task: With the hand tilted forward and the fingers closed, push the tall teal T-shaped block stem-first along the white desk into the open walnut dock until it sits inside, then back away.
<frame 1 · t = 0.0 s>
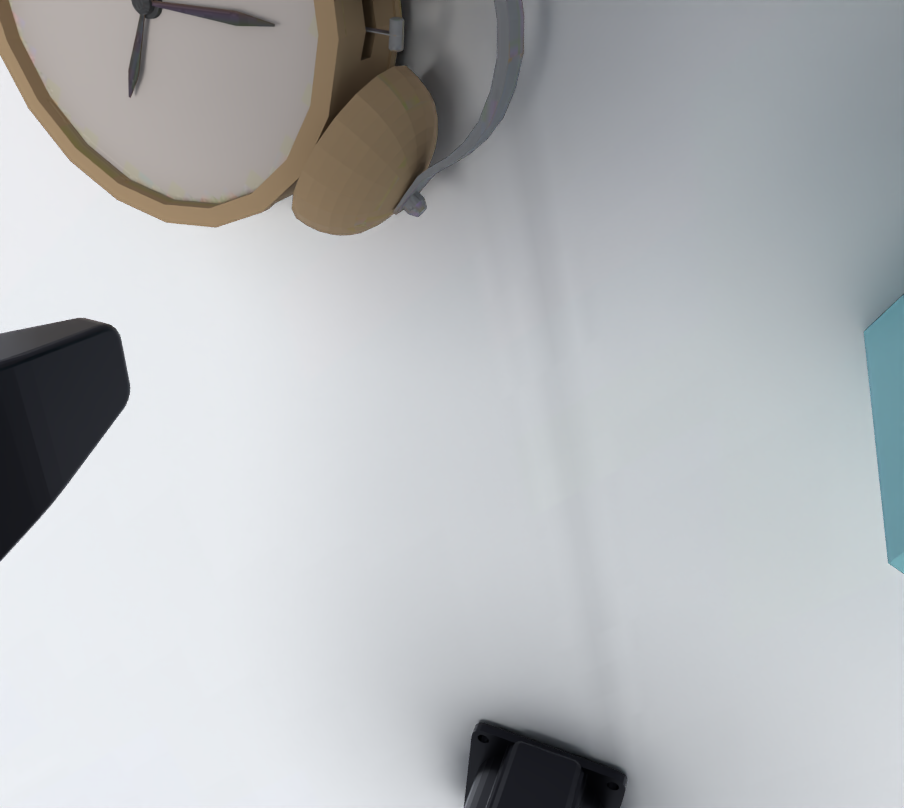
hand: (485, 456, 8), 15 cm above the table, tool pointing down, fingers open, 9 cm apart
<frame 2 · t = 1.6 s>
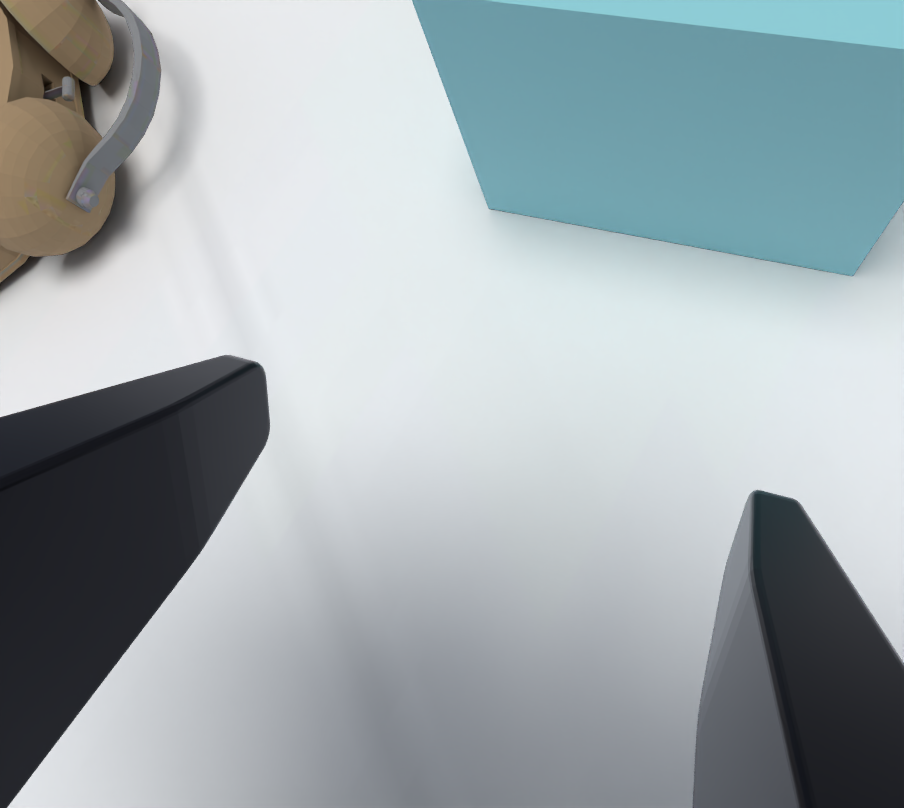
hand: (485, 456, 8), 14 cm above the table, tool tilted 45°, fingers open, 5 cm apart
alarm clock: (3, 162, 29), on the table
t block: (703, 80, 24), on the table
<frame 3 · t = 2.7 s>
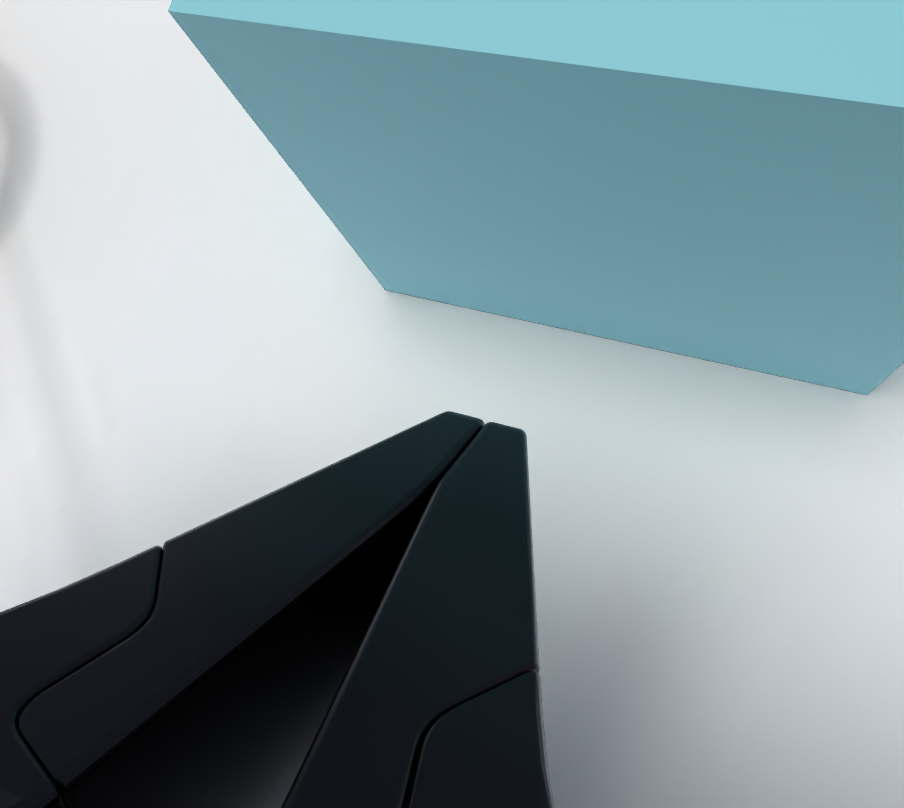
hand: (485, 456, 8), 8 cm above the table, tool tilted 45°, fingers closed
t block: (666, 123, 18), on the table
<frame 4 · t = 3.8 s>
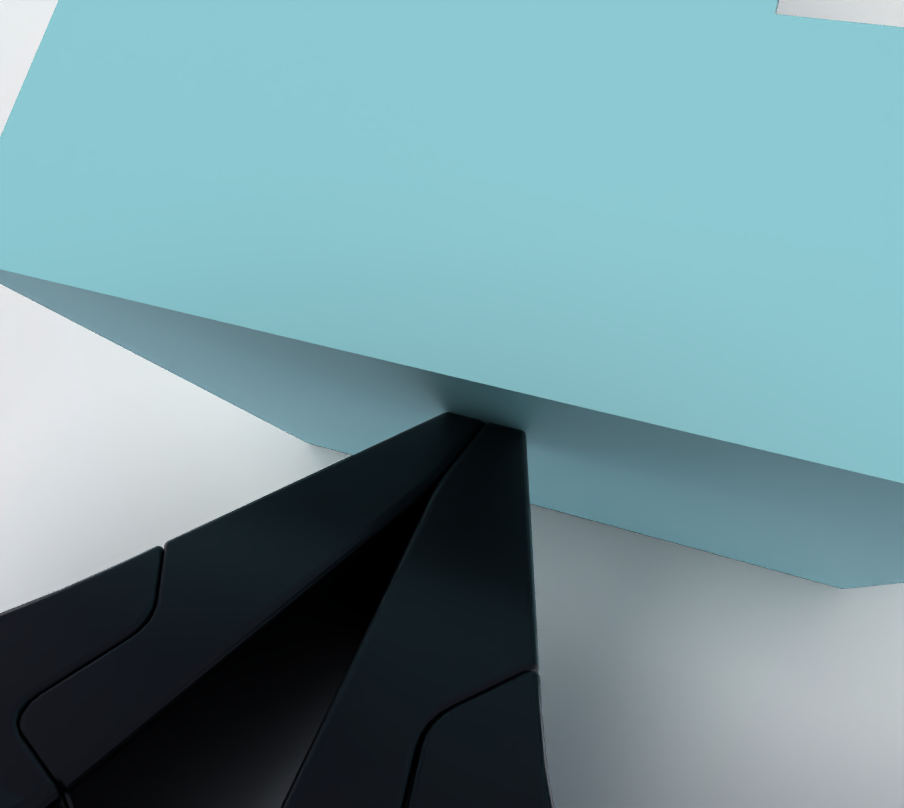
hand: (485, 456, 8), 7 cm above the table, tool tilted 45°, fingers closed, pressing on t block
t block: (618, 258, 16), on the table, touching gripper
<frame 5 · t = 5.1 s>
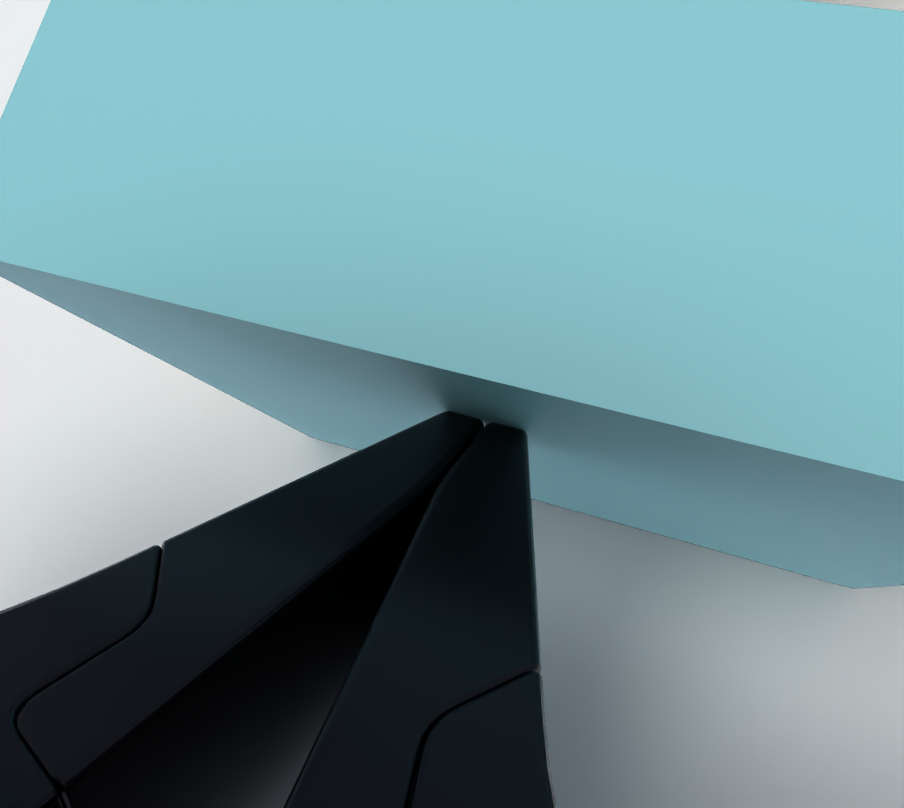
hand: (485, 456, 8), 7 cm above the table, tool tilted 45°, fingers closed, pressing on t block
t block: (627, 252, 16), on the table, touching gripper
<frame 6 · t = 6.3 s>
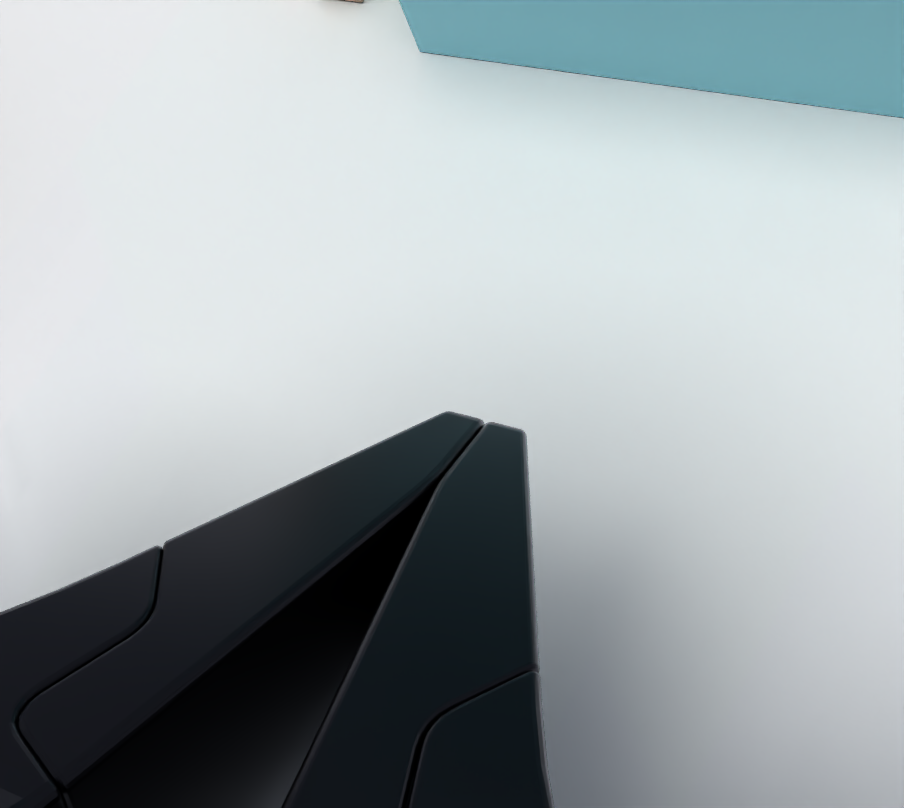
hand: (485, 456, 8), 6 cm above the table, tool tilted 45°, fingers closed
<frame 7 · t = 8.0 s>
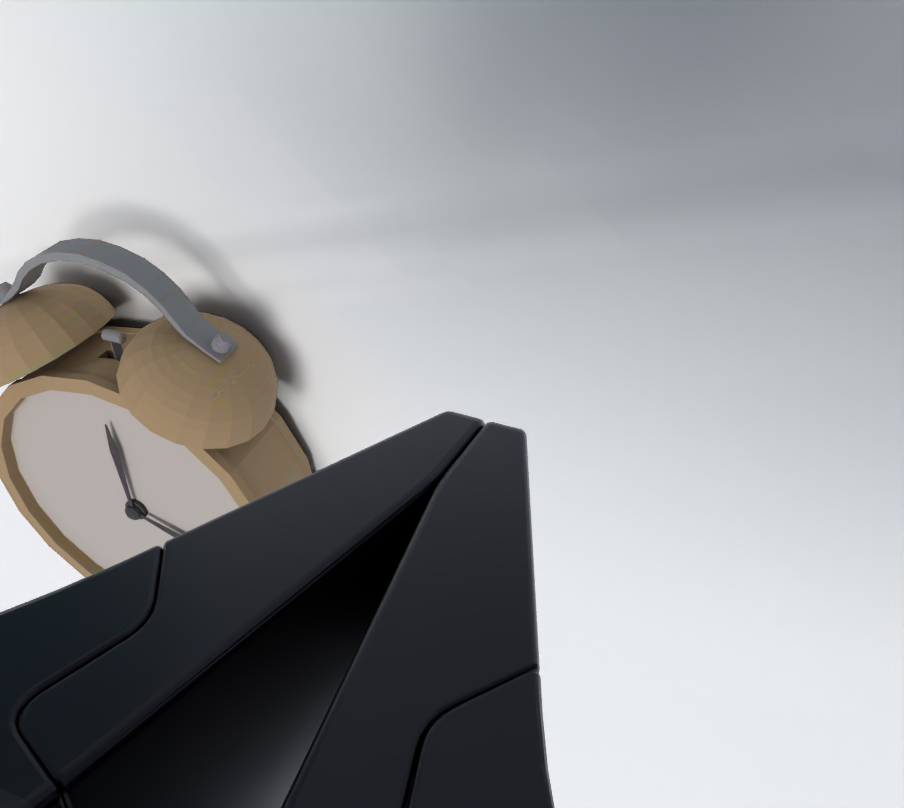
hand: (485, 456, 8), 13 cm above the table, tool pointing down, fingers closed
alarm clock: (186, 412, 30), on the table
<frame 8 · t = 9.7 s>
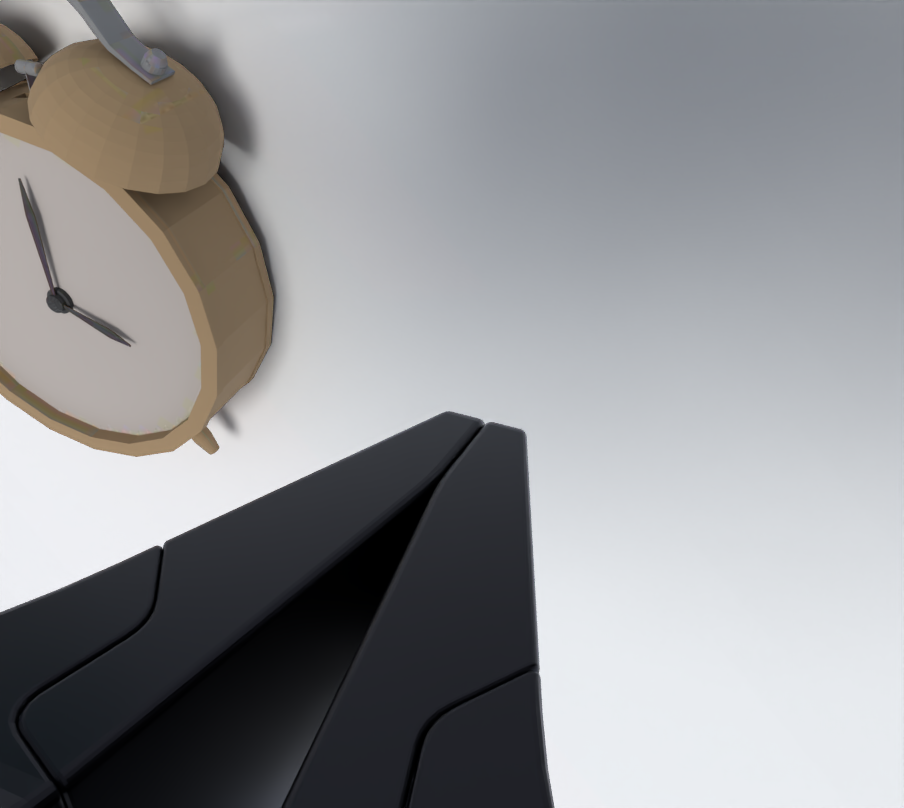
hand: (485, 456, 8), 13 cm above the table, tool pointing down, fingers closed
alarm clock: (124, 203, 26), on the table
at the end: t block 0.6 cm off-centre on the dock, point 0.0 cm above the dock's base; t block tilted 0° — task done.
